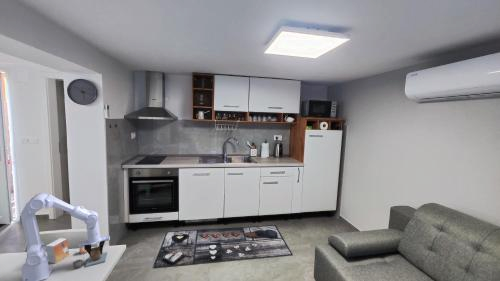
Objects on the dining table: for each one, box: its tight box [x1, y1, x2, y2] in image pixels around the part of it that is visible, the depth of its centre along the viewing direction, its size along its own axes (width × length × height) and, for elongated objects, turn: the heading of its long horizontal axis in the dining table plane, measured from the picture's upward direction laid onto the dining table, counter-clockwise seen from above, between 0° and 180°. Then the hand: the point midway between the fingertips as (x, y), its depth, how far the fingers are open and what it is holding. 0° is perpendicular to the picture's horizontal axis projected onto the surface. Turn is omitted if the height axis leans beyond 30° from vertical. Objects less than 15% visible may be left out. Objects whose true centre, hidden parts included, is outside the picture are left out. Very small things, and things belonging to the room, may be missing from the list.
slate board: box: [85, 251, 108, 268], centre depth 128 cm, size 9×9×1 cm
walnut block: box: [90, 245, 102, 260], centre depth 128 cm, size 4×4×5 cm
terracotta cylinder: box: [79, 246, 88, 255], centre depth 135 cm, size 4×4×3 cm
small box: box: [45, 237, 70, 264], centre depth 129 cm, size 8×6×10 cm
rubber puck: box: [72, 259, 83, 270], centre depth 122 cm, size 4×4×3 cm
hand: (96, 254), depth 128 cm, fingers closed on walnut block, 4 cm apart
